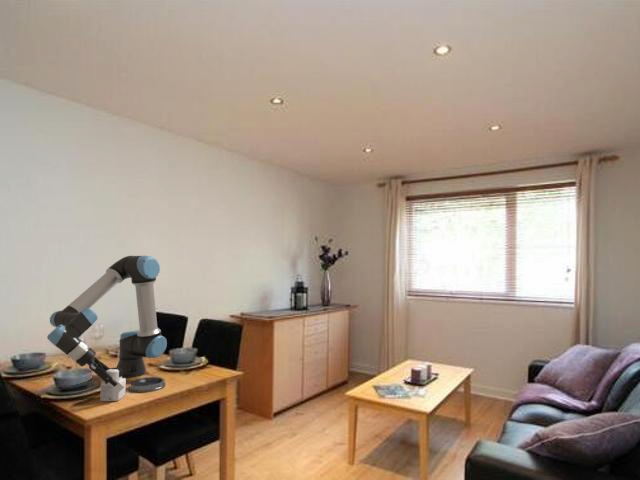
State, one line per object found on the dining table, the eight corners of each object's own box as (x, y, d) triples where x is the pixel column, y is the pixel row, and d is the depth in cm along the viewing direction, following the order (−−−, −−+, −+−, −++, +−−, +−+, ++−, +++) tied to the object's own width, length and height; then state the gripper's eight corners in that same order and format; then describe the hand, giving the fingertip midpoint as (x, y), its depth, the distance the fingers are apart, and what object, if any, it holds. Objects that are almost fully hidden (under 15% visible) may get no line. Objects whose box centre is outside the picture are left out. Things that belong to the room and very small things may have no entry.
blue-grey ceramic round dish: (122, 390, 184) (122, 385, 184) (143, 380, 200) (143, 375, 200) (152, 393, 181) (153, 387, 182) (171, 383, 197) (172, 377, 197)
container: (107, 395, 177) (109, 366, 178) (125, 395, 178) (126, 366, 179) (99, 401, 170) (101, 371, 170) (118, 401, 170) (119, 370, 171)
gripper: (75, 355, 177) (113, 385, 184) (73, 367, 158) (115, 400, 165) (90, 342, 180) (126, 372, 187) (89, 352, 161) (129, 386, 167)
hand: (121, 385), depth 176 cm, fingers closed on container, 10 cm apart
